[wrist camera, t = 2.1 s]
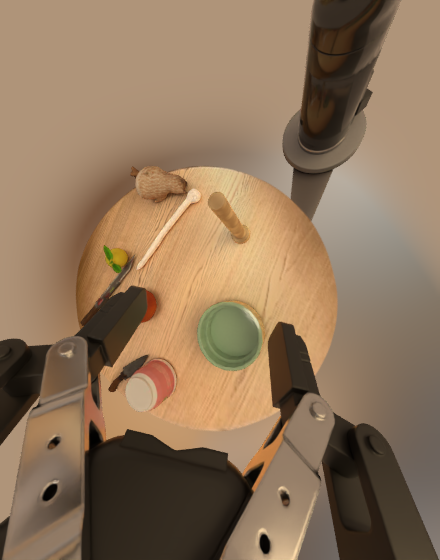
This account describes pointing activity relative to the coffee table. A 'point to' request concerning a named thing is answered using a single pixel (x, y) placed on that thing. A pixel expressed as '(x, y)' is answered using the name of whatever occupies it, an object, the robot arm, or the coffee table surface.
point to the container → (151, 385)
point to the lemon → (115, 258)
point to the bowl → (231, 335)
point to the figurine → (157, 183)
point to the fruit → (150, 307)
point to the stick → (228, 217)
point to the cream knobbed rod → (170, 224)
